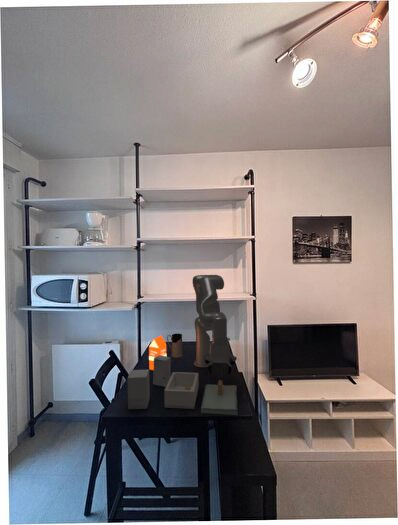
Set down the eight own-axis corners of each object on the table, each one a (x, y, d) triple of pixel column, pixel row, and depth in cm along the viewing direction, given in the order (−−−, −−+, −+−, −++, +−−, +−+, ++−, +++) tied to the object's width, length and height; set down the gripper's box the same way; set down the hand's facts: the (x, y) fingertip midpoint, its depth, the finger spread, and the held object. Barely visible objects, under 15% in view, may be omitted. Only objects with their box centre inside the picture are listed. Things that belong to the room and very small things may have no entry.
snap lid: (205, 388, 136) (205, 374, 136) (236, 389, 134) (236, 376, 134) (201, 413, 114) (200, 396, 114) (237, 415, 112) (237, 398, 112)
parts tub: (173, 386, 138) (173, 372, 138) (198, 387, 137) (198, 372, 137) (164, 407, 119) (164, 390, 119) (194, 408, 117) (193, 391, 117)
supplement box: (150, 398, 126) (149, 368, 127) (147, 409, 118) (146, 377, 118) (132, 399, 126) (131, 369, 126) (127, 409, 117) (127, 377, 117)
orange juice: (149, 369, 162) (148, 338, 162) (157, 364, 170) (156, 334, 170) (159, 371, 158) (158, 339, 158) (166, 366, 166) (166, 335, 166)
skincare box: (152, 384, 141) (152, 358, 141) (158, 380, 147) (158, 354, 147) (165, 387, 138) (165, 360, 138) (171, 382, 143) (170, 356, 143)
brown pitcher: (177, 358, 179) (177, 337, 179) (163, 354, 188) (163, 334, 188) (185, 354, 186) (185, 334, 186) (171, 350, 195) (171, 331, 195)
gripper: (236, 338, 132) (236, 370, 132) (203, 337, 134) (203, 369, 134) (236, 343, 124) (237, 377, 125) (202, 342, 126) (202, 375, 127)
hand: (219, 372), depth 130 cm, fingers open, 9 cm apart
